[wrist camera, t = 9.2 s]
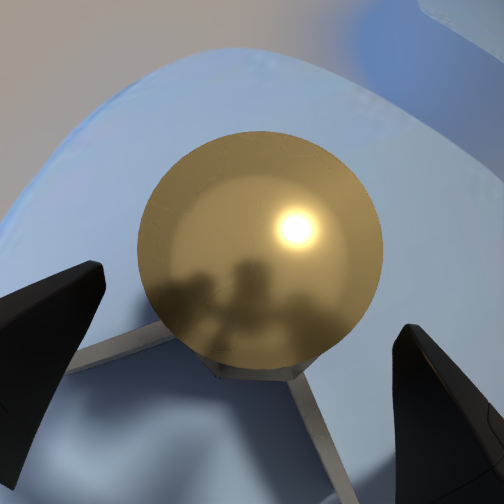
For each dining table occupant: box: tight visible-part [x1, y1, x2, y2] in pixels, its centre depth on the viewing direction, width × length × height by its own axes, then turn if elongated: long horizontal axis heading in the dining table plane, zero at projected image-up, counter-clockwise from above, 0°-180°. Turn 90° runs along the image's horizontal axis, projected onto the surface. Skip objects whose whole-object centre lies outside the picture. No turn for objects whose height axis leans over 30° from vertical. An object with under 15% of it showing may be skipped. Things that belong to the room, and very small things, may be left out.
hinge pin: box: [137, 131, 383, 369], centre depth 11 cm, size 4×4×12 cm
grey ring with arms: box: [63, 320, 359, 504], centre depth 14 cm, size 17×18×4 cm
